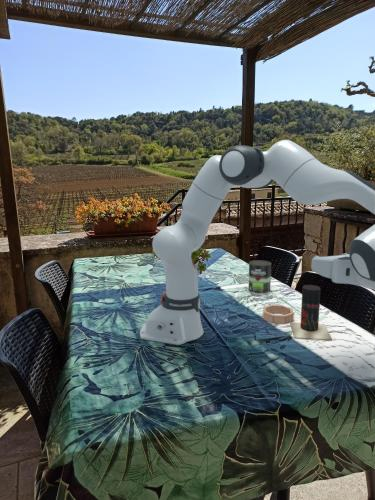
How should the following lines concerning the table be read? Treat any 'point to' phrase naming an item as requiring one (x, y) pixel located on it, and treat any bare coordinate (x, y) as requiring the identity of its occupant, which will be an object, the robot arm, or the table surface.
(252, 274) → the coffee can
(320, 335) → the beige square cloth
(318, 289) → the deodorant
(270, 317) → the ring dish
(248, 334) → the table surface
